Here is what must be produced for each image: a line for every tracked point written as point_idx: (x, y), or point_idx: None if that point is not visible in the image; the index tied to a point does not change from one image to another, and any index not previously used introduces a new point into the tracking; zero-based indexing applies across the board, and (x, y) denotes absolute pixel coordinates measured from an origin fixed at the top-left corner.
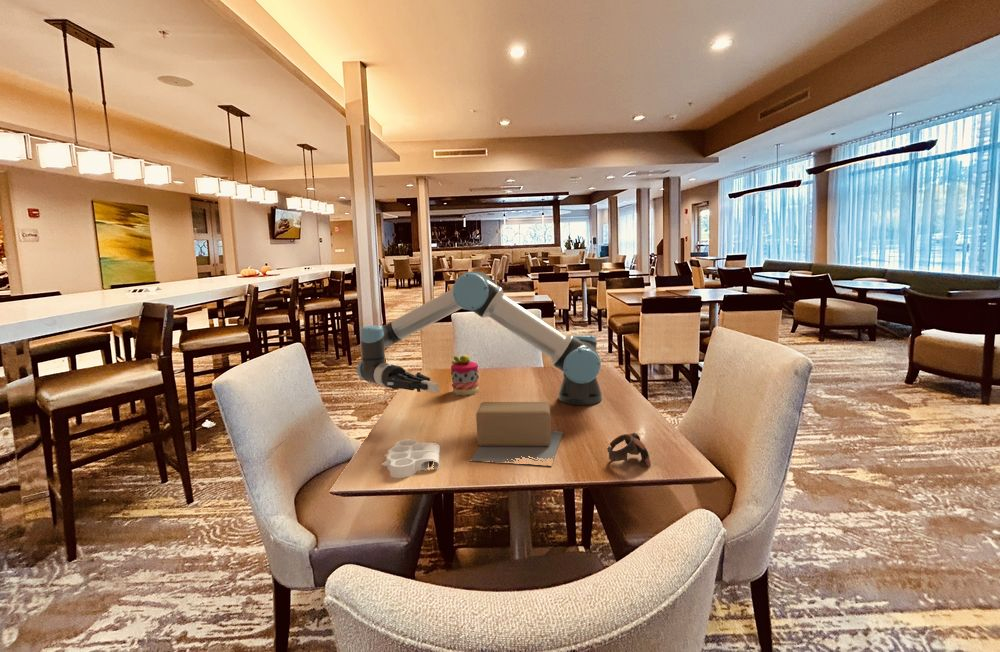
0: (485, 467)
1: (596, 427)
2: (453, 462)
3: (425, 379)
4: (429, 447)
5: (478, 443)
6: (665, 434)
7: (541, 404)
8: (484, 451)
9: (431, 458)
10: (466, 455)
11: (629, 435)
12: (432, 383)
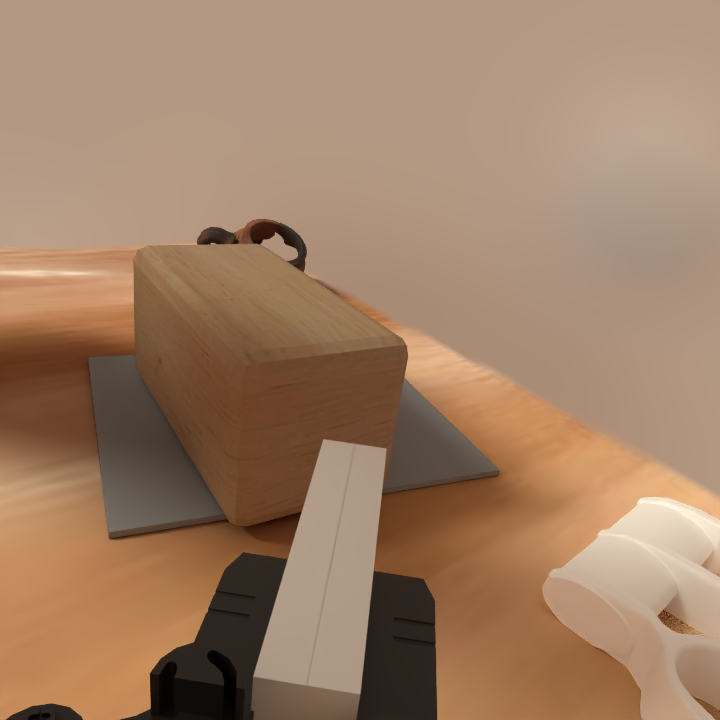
0: (491, 433)
1: (8, 320)
2: (553, 510)
3: (223, 678)
4: (629, 566)
5: (385, 478)
6: (48, 255)
7: (190, 250)
8: (406, 462)
9: (673, 503)
10: (471, 503)
11: (260, 221)
12: (372, 477)
